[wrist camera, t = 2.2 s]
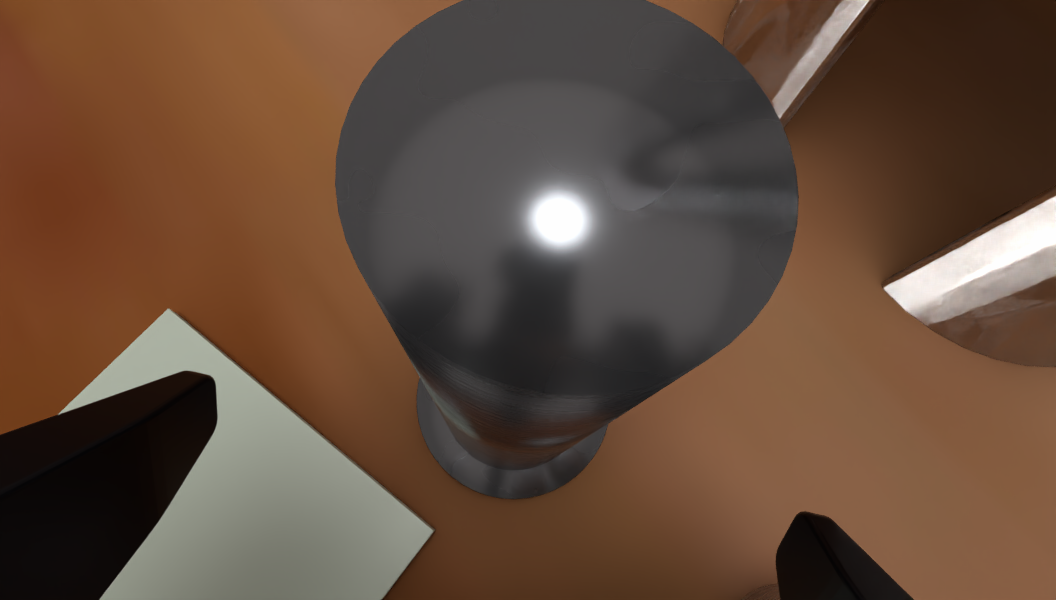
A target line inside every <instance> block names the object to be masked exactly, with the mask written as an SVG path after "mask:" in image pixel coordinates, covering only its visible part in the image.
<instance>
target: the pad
mask: <svg viewBox="0 0 1056 600" xmlns="http://www.w3.org/2000/svg"><path fill="white" fill-rule="evenodd" d="M186 370H187V371H194V372H198V373H203V374H207V375H210V376H212V377H213V378H214V380H215V383H216V395H217V414H218V420H217V425H216V429H215V431H214V433H213V435H212V437H211V438H210V440H209V442H208V443H207V445H206V447H205V448H204V450H203V451H202V453H201V455H200V456H199V458H198V460H197V461H196V463H195V464H194V466H193V468H192V469H191V471H190V473H189V474H188V476H187V477H186V479H185V481H184V482H183V484H182V486H181V487H180V489H179V490H178V492H177V494H176V495H175V497H174V499H173V500H172V502H171V503H170V505H169V507H168V508H167V510H166V511H165V513H164V514H163V516H162V517H161V519H160V520H159V522H158V523H157V525H156V526H155V527H154V529H153V530H152V531H151V533H150V534H149V536H148V537H147V538H146V539H145V541H144V542H143V543H142V545H141V546H140V547H139V549H138V550H137V551H136V552H135V554H134V555H133V556H132V558H131V559H130V560H129V562H128V563H127V564H126V565H125V567H124V568H123V569H122V571H121V572H120V573H119V575H118V576H117V577H116V579H115V580H114V581H113V582H112V584H111V585H110V586H109V588H108V589H107V590H106V592H105V593H104V594H103V595H102V597H101V598H100V599H99V600H382V599H383V598H384V597H385V595H386V594H387V593H388V592H389V590H390V589H391V588H392V586H393V585H394V584H395V582H396V581H397V580H398V578H399V577H400V576H401V574H402V573H403V572H404V570H405V569H406V568H407V567H408V565H409V564H410V563H411V561H412V560H413V559H414V557H415V556H416V555H417V553H418V552H419V551H420V549H421V548H422V547H423V545H424V544H425V543H426V542H427V540H428V539H429V538H430V536H431V535H432V534H433V532H434V531H435V529H434V528H433V527H432V526H430V525H429V524H428V523H427V522H426V521H424V520H423V519H422V518H421V517H420V516H418V515H417V514H416V513H415V512H414V511H412V510H411V509H410V508H409V507H408V506H406V505H405V504H404V503H403V502H402V501H400V500H399V499H398V498H397V497H396V496H394V495H393V494H392V493H391V492H390V491H389V490H387V489H386V488H385V487H384V486H383V485H381V484H380V483H379V482H378V481H377V480H375V479H374V478H373V477H372V476H371V475H369V474H368V473H367V472H366V471H365V470H363V469H362V468H361V467H360V466H359V465H357V464H356V463H355V462H354V461H353V460H351V459H350V458H349V457H348V456H347V455H346V454H344V453H343V452H342V451H341V450H340V449H338V448H337V447H336V446H335V445H334V444H332V443H331V442H330V441H329V440H328V439H326V438H325V437H324V436H323V435H322V434H320V433H319V432H318V431H317V430H316V429H314V428H313V427H312V426H311V425H310V424H308V423H307V422H306V421H305V420H304V419H303V418H301V417H300V416H299V415H298V414H297V413H295V412H294V411H293V410H292V409H291V408H289V407H288V406H287V405H286V404H285V403H283V402H282V401H281V400H280V399H279V398H277V397H276V396H275V395H274V394H273V393H271V392H270V391H269V390H268V389H267V388H265V387H264V386H263V385H262V384H261V383H260V382H258V381H257V380H256V379H255V378H254V377H252V376H251V375H250V374H249V373H248V372H246V371H245V370H244V369H243V368H242V367H240V366H239V365H238V364H237V363H236V362H234V361H233V360H232V359H231V358H230V357H228V356H227V355H226V354H225V353H224V352H222V351H221V350H220V349H219V348H218V347H217V346H215V345H214V344H213V343H212V342H211V341H209V340H208V339H207V338H206V337H205V336H203V335H202V334H201V333H200V332H199V331H197V330H196V329H195V328H194V327H193V326H191V325H190V324H189V323H188V322H187V321H185V320H184V319H183V318H182V317H181V316H179V315H178V314H177V313H175V312H173V311H172V310H170V309H167V310H166V311H165V312H164V313H163V314H162V315H161V316H160V317H159V318H158V319H157V320H156V321H155V322H154V323H153V324H152V325H151V326H150V327H149V328H148V329H146V330H145V331H144V332H143V333H142V334H141V335H140V336H139V337H138V338H137V339H136V340H135V341H134V342H133V343H132V344H131V345H130V346H129V347H128V348H127V349H126V350H125V351H124V352H123V353H122V354H120V355H119V356H118V357H117V358H116V359H115V360H114V361H113V362H112V363H111V364H110V365H109V366H108V367H107V368H106V369H105V370H104V371H103V372H102V373H101V374H100V375H99V376H98V377H97V378H95V379H94V380H93V381H92V382H91V383H90V384H89V385H88V386H87V387H86V388H85V389H84V390H83V391H82V392H81V393H80V394H79V395H78V396H77V397H76V398H75V399H74V400H73V401H72V402H71V403H69V404H68V405H67V406H66V407H65V408H64V409H63V410H62V411H61V412H60V413H59V414H61V413H64V412H67V411H70V410H73V409H75V408H78V407H81V406H84V405H87V404H90V403H93V402H95V401H98V400H101V399H104V398H107V397H110V396H113V395H115V394H118V393H121V392H124V391H127V390H130V389H132V388H135V387H138V386H141V385H144V384H147V383H150V382H152V381H155V380H158V379H161V378H164V377H167V376H169V375H172V374H175V373H178V372H181V371H186Z"/></svg>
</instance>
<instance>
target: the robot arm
mask: <svg viewBox="0 0 1056 600" xmlns="http://www.w3.org/2000/svg"><path fill="white" fill-rule="evenodd" d="M217 420H218V414H217V395H216V383H215V380H214V378H213V377H212V376H210V375H207V374H203V373H198V372H194V371H187V370H186V371H181V372H178V373H175V374H172V375H169V376H167V377H164V378H161V379H158V380H155V381H152V382H150V383H147V384H144V385H141V386H138V387H135V388H132V389H130V390H127V391H124V392H121V393H118V394H115V395H113V396H110V397H107V398H104V399H101V400H98V401H95V402H93V403H90V404H87V405H84V406H81V407H78V408H75V409H73V410H70V411H67V412H64V413H61V414H58V415H56V416H53V417H50V418H47V419H44V420H41V421H38V422H36V423H33V424H30V425H27V426H24V427H21V428H18V429H16V430H13V431H10V432H7V433H4V434H1V435H0V600H99V599H100V598H101V597H102V595H103V594H104V593H105V592H106V590H107V589H108V588H109V586H110V585H111V584H112V582H113V581H114V580H115V579H116V577H117V576H118V575H119V573H120V572H121V571H122V569H123V568H124V567H125V565H126V564H127V563H128V562H129V560H130V559H131V558H132V556H133V555H134V554H135V552H136V551H137V550H138V549H139V547H140V546H141V545H142V543H143V542H144V541H145V539H146V538H147V537H148V536H149V534H150V533H151V531H152V530H153V529H154V527H155V526H156V525H157V523H158V522H159V520H160V519H161V517H162V516H163V514H164V513H165V511H166V510H167V508H168V507H169V505H170V503H171V502H172V500H173V499H174V497H175V495H176V494H177V492H178V490H179V489H180V487H181V486H182V484H183V482H184V481H185V479H186V477H187V476H188V474H189V473H190V471H191V469H192V468H193V466H194V464H195V463H196V461H197V460H198V458H199V456H200V455H201V453H202V451H203V450H204V448H205V447H206V445H207V443H208V442H209V440H210V438H211V437H212V435H213V433H214V431H215V429H216V425H217ZM776 570H777V579H778V587H779V596H780V600H914V599H913V598H912V597H911V596H910V595H909V594H908V593H907V592H906V591H905V590H904V589H902V588H901V587H900V586H899V585H898V584H897V583H896V582H895V581H894V580H893V579H892V578H891V577H890V576H889V575H888V574H887V573H886V572H885V571H884V570H883V569H882V568H881V567H880V566H879V565H878V564H877V563H876V562H875V561H874V560H873V559H872V558H871V557H870V556H869V555H868V554H867V553H866V552H865V551H864V550H863V549H862V548H861V547H860V546H859V545H858V544H857V543H856V542H854V541H853V540H852V539H851V538H850V537H849V536H848V535H847V534H846V533H845V532H844V531H843V530H842V529H841V528H840V527H839V526H838V525H837V524H836V523H835V522H834V521H833V520H832V519H831V518H829V517H827V516H824V515H819V514H815V513H811V512H806V511H804V512H800V513H798V514H797V515H796V516H795V518H794V520H793V521H792V523H791V525H790V527H789V529H788V530H787V532H786V534H785V536H784V538H783V539H782V541H781V543H780V545H779V547H778V550H777V553H776Z"/></svg>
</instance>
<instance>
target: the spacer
mask: <svg viewBox="0 0 1056 600" xmlns="http://www.w3.org/2000/svg"><path fill="white" fill-rule="evenodd" d="M741 600H780V596H779V587H778V584H772V585H767V586H763V587H760V588H758V589H756V590H754V591H752V592H750V593H749V594H747V595H746V596H745V597H744V598H743V599H741Z"/></svg>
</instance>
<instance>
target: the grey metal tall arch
mask: <svg viewBox="0 0 1056 600" xmlns="http://www.w3.org/2000/svg"><path fill="white" fill-rule="evenodd" d="M884 1H885V0H737V1H736V3H735V6H734V8H733V10H732V12H731V14H730V17H729V20H728V23H727V26H726V29H725V32H724V40H723V47H725V48H726V49H727V50H728V51H729V52H730V53H731V54H733V55H734V56H735V57H736V58H737V60H738V61H739V62H740V63H741V64H742V65H743V66H744V67H745V68H746V69H747V71H748V72H749V73H750V74H751V75H752V76H753V77H754V79H755V80H756V82H757V83H758V84H759V86H760V87H761V89H762V90H763V91H764V93H765V94H766V96H767V97H768V99H769V101H770V102H771V104H772V106H773V108H774V110H775V112H776V113H777V115H778V117H779V119H780V121H781V123H782V126H783V128H784V127H785V126H786V124H787V123H788V122H789V121H790V119H791V118H792V117H793V116H794V114H795V113H796V112H797V111H798V109H799V108H800V107H801V106H802V104H803V103H804V102H805V100H806V99H807V98H808V97H809V95H810V94H811V93H812V92H813V90H814V89H815V88H816V87H817V85H818V84H819V83H820V82H821V80H822V79H823V78H824V76H825V75H826V74H827V73H828V71H829V70H830V69H831V68H832V66H833V65H834V64H835V63H836V61H837V60H838V59H839V58H840V56H841V55H842V54H843V52H844V51H845V50H846V49H847V47H848V46H849V45H850V44H851V42H852V41H853V40H854V39H855V37H856V36H857V35H858V34H859V32H860V31H861V30H862V28H863V27H864V26H865V25H866V23H867V22H868V21H869V20H870V18H871V17H872V16H873V15H874V13H875V12H876V11H877V10H878V8H879V7H880V6H881V4H882V3H883V2H884ZM882 288H883V289H884V290H885V291H886V292H887V293H888V294H889V295H890V296H891V297H892V298H893V299H894V300H895V301H896V302H898V303H899V304H900V305H901V306H902V307H903V308H904V309H905V310H906V311H907V312H909V313H910V314H911V315H913V316H914V317H915V318H917V319H918V320H919V321H921V322H922V323H923V324H925V325H926V326H927V327H929V328H930V329H931V330H933V331H935V332H936V333H938V334H940V335H942V336H944V337H945V338H947V339H949V340H951V341H953V342H955V343H956V344H958V345H960V346H962V347H964V348H967V349H969V350H972V351H975V352H977V353H980V354H983V355H985V356H988V357H991V358H993V359H996V360H1001V361H1006V362H1011V363H1015V364H1020V365H1025V366H1040V367H1056V185H1055V186H1053V187H1051V188H1049V189H1048V190H1046V191H1044V192H1042V193H1040V194H1039V195H1037V196H1035V197H1033V198H1031V199H1030V200H1028V201H1026V202H1024V203H1022V204H1021V205H1019V206H1017V207H1015V208H1013V209H1012V210H1010V211H1008V212H1006V213H1004V214H1003V215H1001V216H999V217H997V218H995V219H994V220H992V221H990V222H988V223H986V224H985V225H983V226H981V227H979V228H977V229H976V230H974V231H972V232H970V233H968V234H967V235H965V236H963V237H961V238H959V239H958V240H956V241H954V242H952V243H950V244H949V245H947V246H945V247H943V248H941V249H940V250H938V251H936V252H934V253H932V254H931V255H929V256H927V257H925V258H923V259H922V260H920V261H918V262H916V263H914V264H913V265H911V266H909V267H907V268H905V269H904V270H902V271H900V272H898V273H896V274H895V275H893V276H891V277H890V278H889V279H887V280H886V281H884V282H883V283H882Z"/></svg>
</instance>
